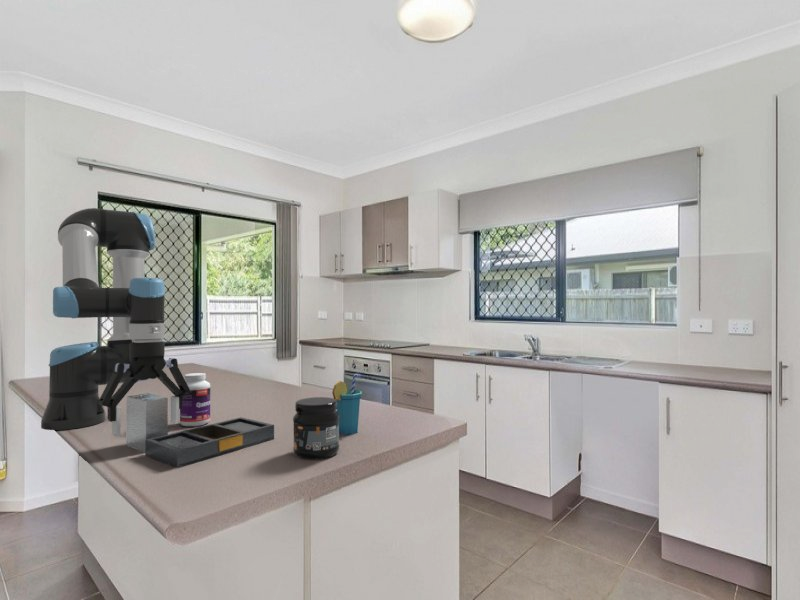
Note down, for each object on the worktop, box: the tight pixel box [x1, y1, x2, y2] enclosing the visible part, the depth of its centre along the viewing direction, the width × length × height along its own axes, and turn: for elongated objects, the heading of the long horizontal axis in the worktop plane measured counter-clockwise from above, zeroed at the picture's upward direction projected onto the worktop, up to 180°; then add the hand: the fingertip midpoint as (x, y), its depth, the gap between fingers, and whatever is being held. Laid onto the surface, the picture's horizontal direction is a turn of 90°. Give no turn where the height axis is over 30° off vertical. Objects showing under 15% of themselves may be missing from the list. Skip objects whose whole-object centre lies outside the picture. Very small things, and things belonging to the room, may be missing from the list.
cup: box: [331, 373, 362, 436], centre depth 120 cm, size 14×8×15 cm, turn 161°
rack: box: [144, 416, 275, 469], centre depth 107 cm, size 14×25×4 cm, turn 144°
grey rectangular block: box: [125, 392, 169, 453], centre depth 108 cm, size 10×5×12 cm, turn 54°
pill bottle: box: [179, 372, 211, 428], centre depth 128 cm, size 8×8×14 cm
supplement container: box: [292, 396, 340, 461], centre depth 102 cm, size 10×10×12 cm
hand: (147, 428), depth 108 cm, fingers open, 13 cm apart
